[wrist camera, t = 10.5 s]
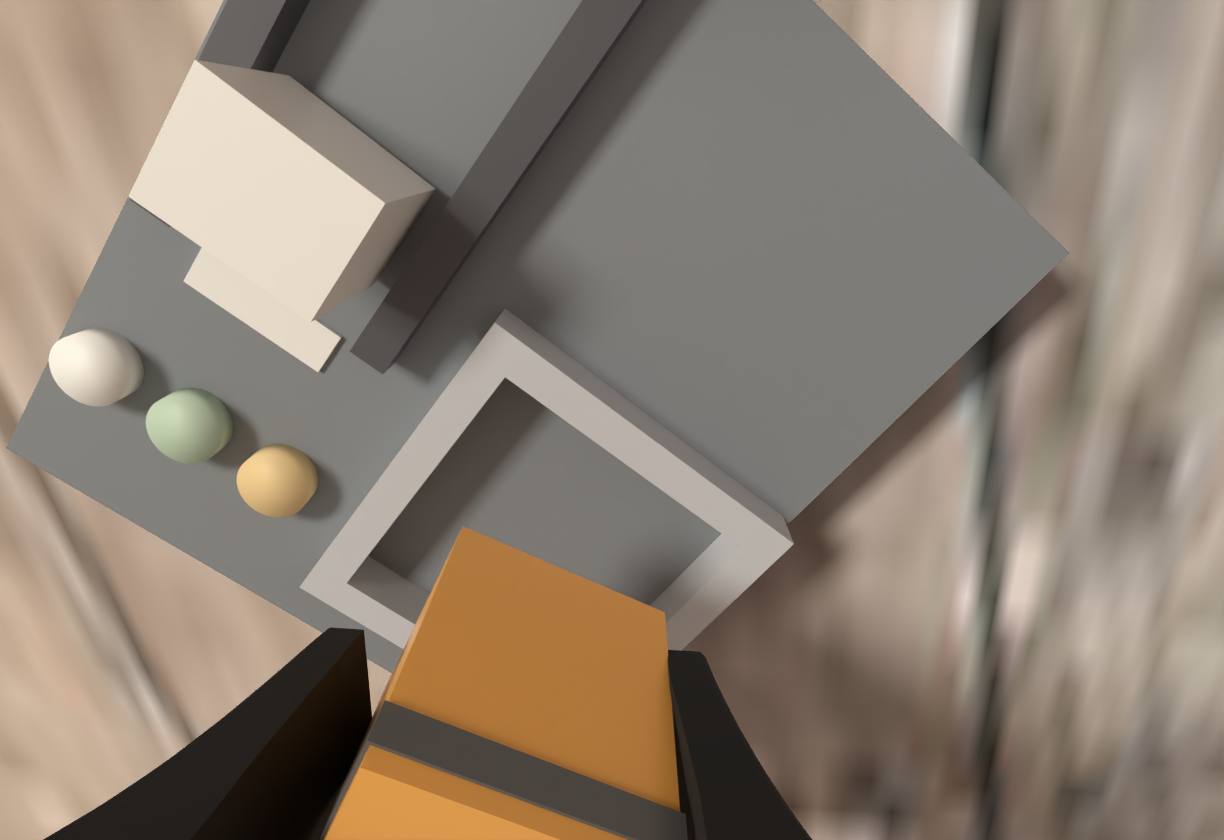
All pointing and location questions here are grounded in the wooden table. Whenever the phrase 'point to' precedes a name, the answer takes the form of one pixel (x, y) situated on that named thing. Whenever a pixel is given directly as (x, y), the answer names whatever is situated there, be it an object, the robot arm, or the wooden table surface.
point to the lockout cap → (519, 714)
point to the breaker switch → (278, 186)
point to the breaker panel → (544, 309)
